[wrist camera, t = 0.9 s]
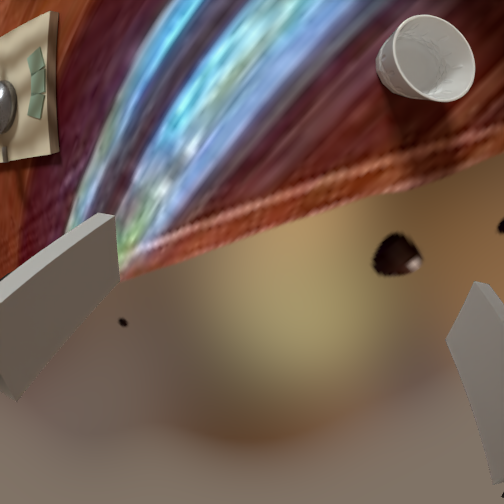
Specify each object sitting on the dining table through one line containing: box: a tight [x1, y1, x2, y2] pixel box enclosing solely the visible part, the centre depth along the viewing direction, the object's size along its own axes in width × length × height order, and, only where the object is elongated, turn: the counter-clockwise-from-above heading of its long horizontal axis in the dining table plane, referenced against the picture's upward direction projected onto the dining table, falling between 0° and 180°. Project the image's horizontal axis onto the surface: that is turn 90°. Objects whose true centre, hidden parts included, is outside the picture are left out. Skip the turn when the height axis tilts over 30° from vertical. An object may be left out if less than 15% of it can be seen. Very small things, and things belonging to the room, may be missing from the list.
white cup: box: [376, 15, 475, 102], centre depth 23 cm, size 8×8×10 cm
